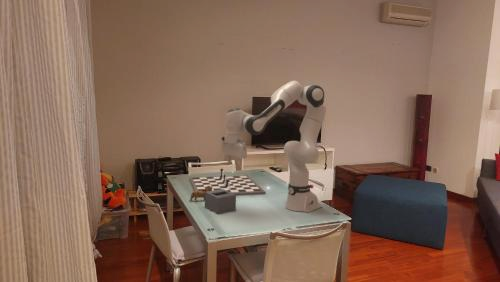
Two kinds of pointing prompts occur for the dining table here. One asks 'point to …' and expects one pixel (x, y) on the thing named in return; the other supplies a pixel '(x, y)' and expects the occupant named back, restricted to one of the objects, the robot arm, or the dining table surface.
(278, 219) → the dining table surface
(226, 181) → the chess set
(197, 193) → the lion figurine
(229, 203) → the money box
